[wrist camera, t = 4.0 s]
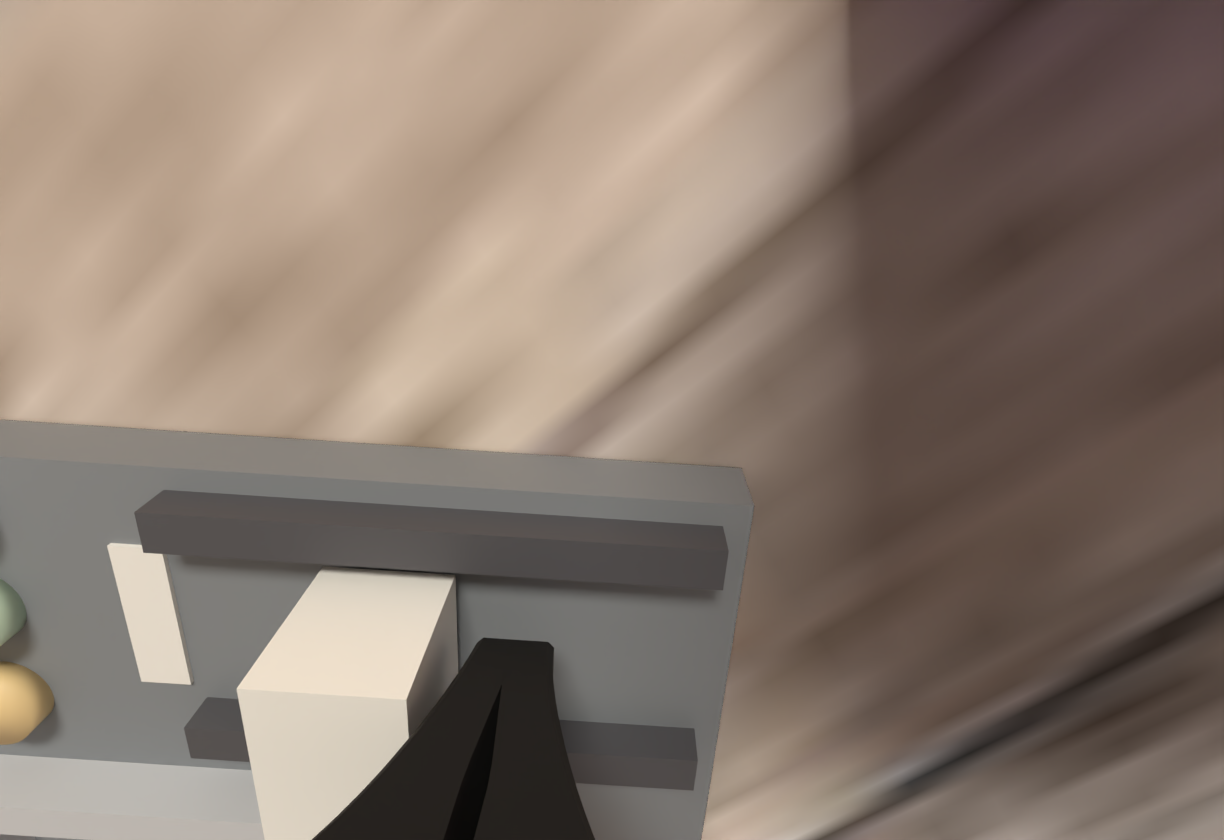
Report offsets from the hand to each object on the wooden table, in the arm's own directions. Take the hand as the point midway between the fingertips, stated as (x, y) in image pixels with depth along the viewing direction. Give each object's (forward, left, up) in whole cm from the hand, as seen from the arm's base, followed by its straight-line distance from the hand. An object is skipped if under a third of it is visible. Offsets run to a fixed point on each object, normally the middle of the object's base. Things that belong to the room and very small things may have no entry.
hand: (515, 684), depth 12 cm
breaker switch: (0, +2, -1) cm, 3 cm away
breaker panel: (-5, +5, -3) cm, 7 cm away
